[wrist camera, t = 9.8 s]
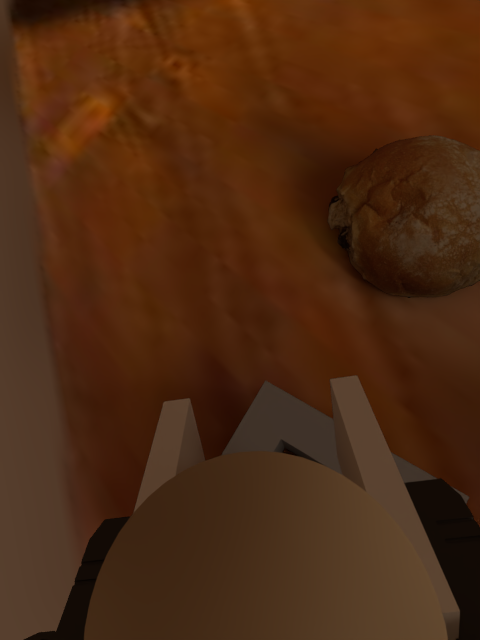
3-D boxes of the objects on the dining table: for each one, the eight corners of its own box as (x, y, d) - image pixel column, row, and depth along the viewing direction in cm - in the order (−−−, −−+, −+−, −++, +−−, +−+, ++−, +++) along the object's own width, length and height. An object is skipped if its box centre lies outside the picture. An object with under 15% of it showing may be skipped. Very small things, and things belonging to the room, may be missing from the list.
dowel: (271, 476, 19) (207, 393, 6) (360, 532, 18) (512, 576, 5) (219, 568, 18) (11, 701, 5) (310, 635, 17) (338, 1034, 4)
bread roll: (413, 336, 31) (510, 322, 23) (289, 250, 29) (350, 204, 22) (469, 221, 33) (575, 174, 25) (358, 136, 32) (435, 58, 24)
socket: (271, 399, 27) (265, 380, 22) (436, 495, 24) (468, 496, 19) (178, 560, 24) (148, 577, 20) (348, 687, 22) (361, 742, 17)
